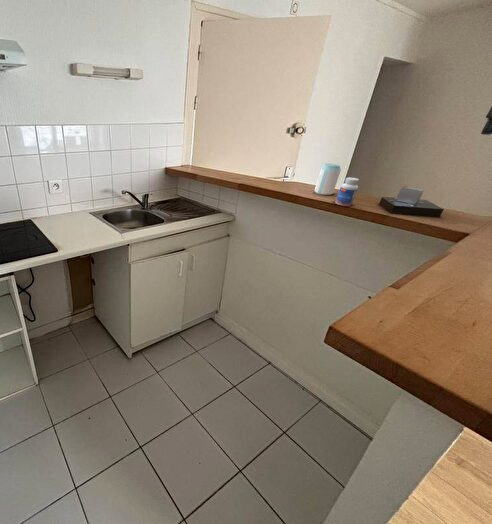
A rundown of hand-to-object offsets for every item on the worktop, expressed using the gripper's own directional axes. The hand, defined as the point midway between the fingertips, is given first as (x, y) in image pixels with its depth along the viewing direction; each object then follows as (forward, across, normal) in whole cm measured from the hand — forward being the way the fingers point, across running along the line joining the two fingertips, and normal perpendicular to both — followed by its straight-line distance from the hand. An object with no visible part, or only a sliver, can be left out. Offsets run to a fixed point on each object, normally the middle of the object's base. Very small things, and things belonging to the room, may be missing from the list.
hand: (491, 133), depth 86 cm
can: (+26, -13, +37) cm, 47 cm away
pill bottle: (+26, -20, +24) cm, 41 cm away
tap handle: (+23, -8, +10) cm, 26 cm away
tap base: (+26, -7, +9) cm, 28 cm away
